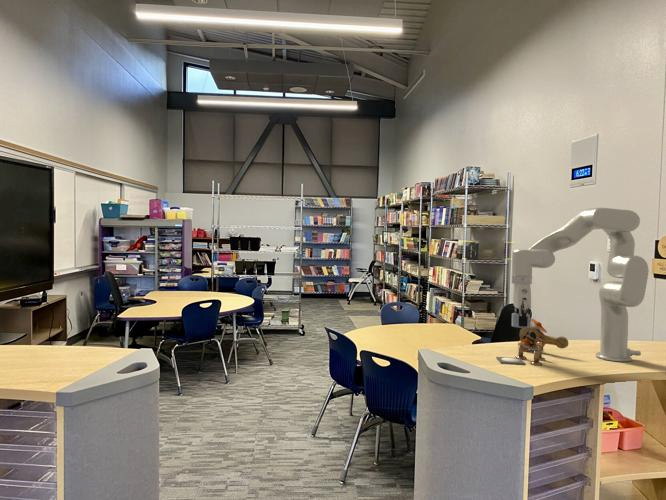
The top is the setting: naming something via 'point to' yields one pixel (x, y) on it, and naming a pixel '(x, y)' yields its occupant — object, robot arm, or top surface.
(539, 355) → the brown legged frame
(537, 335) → the toy helicopter
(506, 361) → the pad
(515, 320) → the blue-grey block
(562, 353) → the top surface
